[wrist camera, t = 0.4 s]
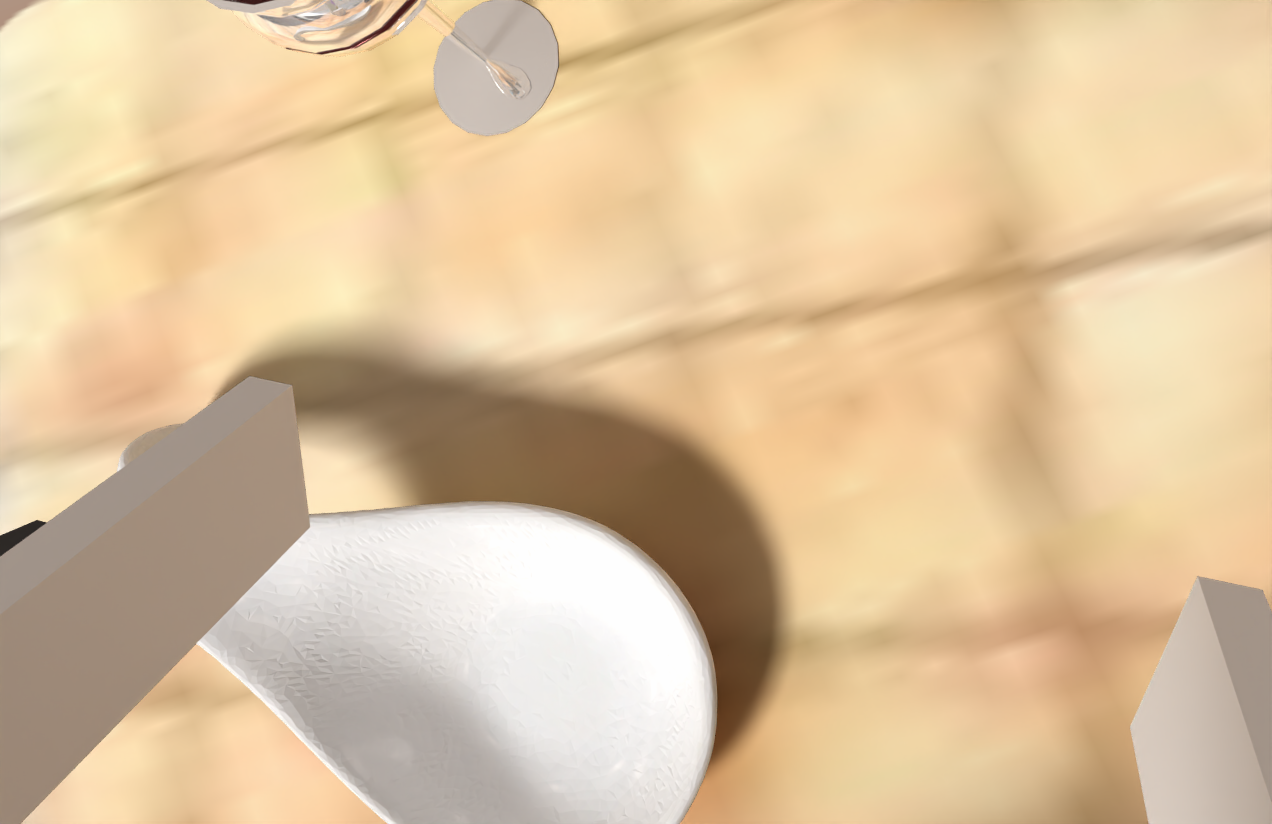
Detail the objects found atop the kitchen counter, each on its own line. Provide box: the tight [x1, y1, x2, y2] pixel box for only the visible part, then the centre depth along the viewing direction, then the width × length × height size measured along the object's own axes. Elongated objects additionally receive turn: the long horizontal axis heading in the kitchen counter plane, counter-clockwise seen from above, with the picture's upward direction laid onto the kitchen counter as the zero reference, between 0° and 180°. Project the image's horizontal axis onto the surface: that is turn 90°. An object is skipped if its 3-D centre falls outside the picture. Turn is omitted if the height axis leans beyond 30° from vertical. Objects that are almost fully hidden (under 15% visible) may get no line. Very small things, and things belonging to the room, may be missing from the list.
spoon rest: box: [117, 423, 717, 824], centre depth 32 cm, size 24×12×7 cm, turn 69°
